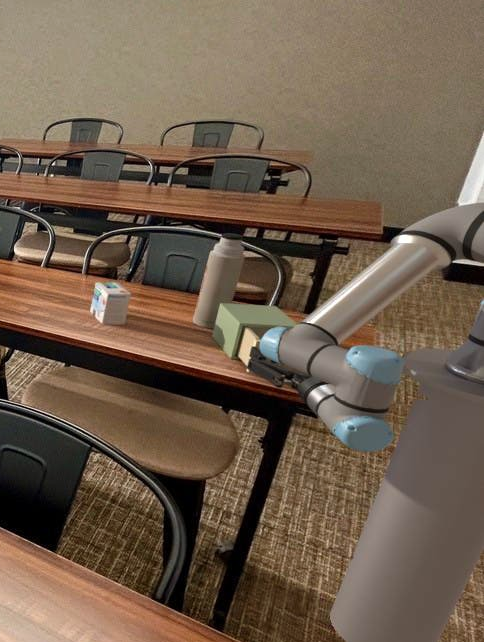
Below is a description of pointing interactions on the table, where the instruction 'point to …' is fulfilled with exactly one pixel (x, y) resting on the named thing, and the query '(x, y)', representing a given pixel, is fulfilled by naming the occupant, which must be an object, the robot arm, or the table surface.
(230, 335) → the cabinet
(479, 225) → the robot arm
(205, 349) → the table surface
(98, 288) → the light bulb box
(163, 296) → the table surface
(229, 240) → the thermos bottle
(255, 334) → the drawer
